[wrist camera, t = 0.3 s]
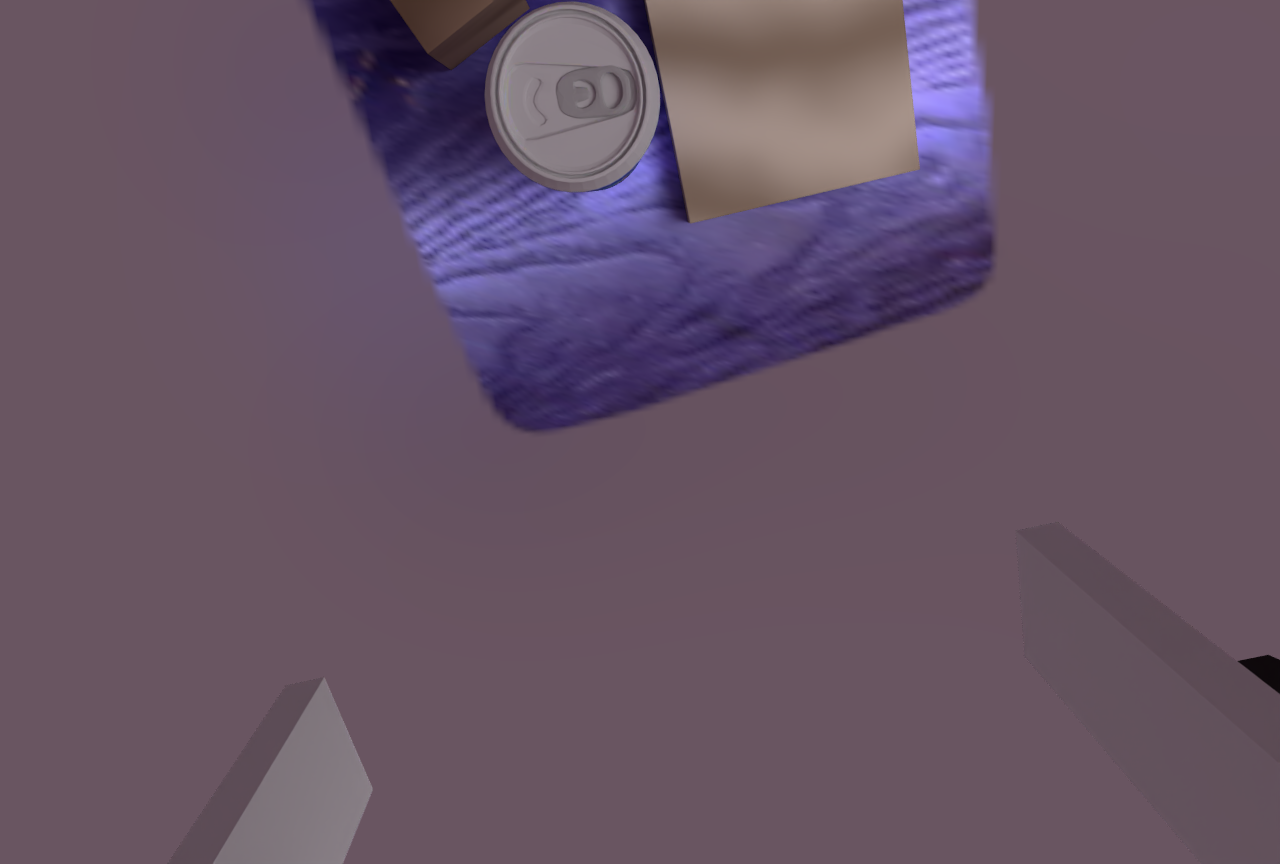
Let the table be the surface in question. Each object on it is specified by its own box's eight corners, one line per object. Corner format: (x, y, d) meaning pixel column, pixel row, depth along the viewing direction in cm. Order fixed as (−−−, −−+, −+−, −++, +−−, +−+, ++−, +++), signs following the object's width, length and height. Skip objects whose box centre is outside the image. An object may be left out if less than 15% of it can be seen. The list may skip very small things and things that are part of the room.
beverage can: (545, 196, 36) (495, 202, 22) (528, 80, 35) (463, 4, 20) (651, 184, 36) (670, 181, 22) (639, 67, 34) (651, -18, 20)
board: (622, -105, 32) (623, -116, 31) (874, -170, 32) (883, -183, 31) (688, 222, 37) (690, 223, 35) (910, 169, 36) (919, 169, 35)
